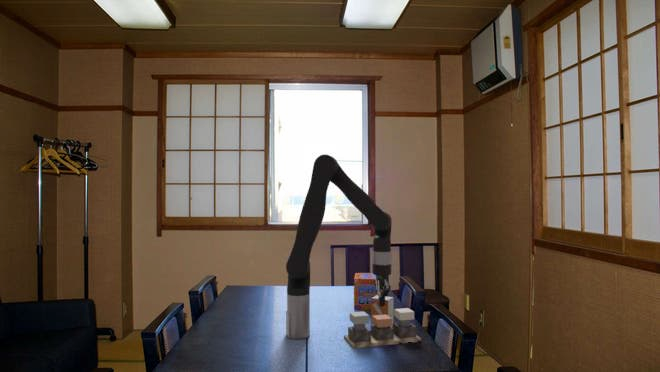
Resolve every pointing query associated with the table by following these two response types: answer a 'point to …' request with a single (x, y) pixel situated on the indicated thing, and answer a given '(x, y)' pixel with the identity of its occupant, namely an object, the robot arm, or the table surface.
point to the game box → (364, 290)
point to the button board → (381, 336)
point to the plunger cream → (404, 316)
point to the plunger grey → (359, 320)
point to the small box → (382, 308)
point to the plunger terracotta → (382, 321)
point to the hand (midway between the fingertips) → (381, 306)
